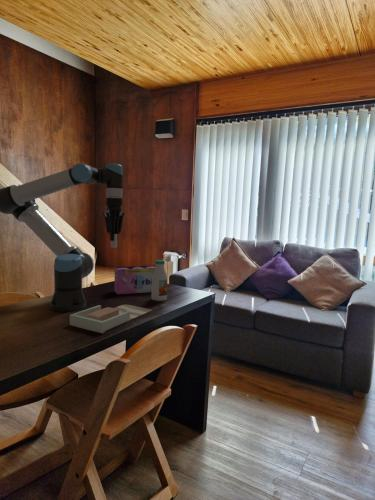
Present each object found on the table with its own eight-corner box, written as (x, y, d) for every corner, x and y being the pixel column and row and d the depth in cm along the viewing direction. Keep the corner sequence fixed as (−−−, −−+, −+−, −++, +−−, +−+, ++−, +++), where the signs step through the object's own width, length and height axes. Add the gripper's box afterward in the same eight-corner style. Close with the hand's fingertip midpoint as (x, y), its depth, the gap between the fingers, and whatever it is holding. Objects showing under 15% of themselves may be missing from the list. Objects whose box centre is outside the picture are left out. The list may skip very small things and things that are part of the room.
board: (124, 305, 162) (124, 304, 162) (152, 310, 155) (152, 309, 155) (99, 314, 147) (99, 313, 147) (129, 321, 140) (129, 320, 140)
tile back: (107, 316, 144) (107, 307, 144) (118, 318, 142) (119, 309, 141) (97, 320, 139) (97, 310, 139) (109, 323, 136) (109, 313, 136)
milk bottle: (152, 301, 170) (153, 261, 167) (150, 297, 177) (151, 259, 175) (168, 301, 172) (169, 261, 169) (164, 297, 179) (166, 259, 177)
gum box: (155, 288, 198) (156, 265, 197) (160, 291, 191) (160, 267, 189) (114, 291, 189) (114, 266, 187) (117, 294, 181) (117, 269, 180)
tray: (98, 314, 147) (98, 305, 147) (129, 321, 140) (130, 311, 139) (69, 324, 133) (69, 314, 133) (102, 333, 126) (102, 322, 125)
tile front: (97, 320, 139) (97, 310, 139) (108, 322, 136) (109, 313, 136) (86, 324, 134) (86, 314, 133) (98, 327, 131) (98, 317, 131)
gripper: (117, 198, 170) (116, 245, 173) (98, 196, 159) (98, 247, 161) (129, 198, 167) (128, 246, 169) (111, 197, 155) (110, 249, 158)
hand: (113, 247), depth 165 cm, fingers closed
